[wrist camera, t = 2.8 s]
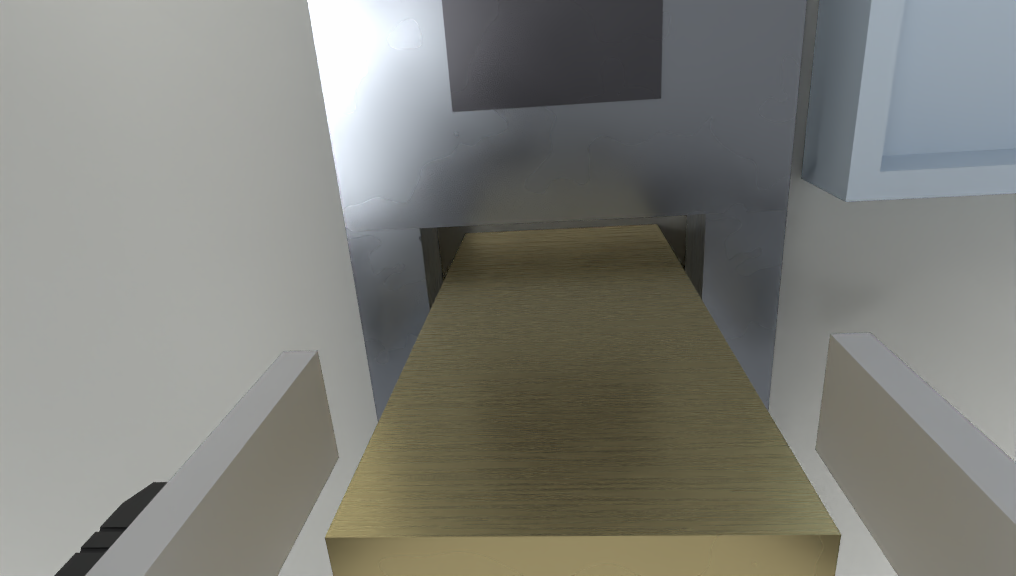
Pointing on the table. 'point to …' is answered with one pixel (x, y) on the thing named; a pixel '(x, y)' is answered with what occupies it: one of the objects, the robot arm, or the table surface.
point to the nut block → (576, 429)
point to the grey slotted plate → (561, 141)
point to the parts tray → (912, 99)
